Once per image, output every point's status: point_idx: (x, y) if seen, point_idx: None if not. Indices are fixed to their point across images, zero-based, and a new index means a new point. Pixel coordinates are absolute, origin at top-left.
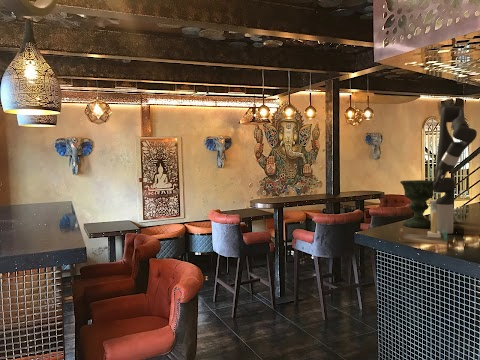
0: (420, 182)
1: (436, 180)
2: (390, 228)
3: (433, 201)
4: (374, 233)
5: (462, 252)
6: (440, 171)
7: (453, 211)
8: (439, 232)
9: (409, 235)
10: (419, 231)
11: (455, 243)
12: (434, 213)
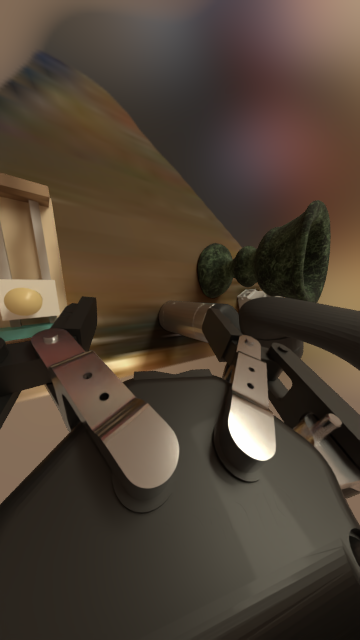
0: (301, 257)
1: (56, 348)
2: (182, 209)
3: (275, 296)
4: (102, 137)
5: None
6: (137, 498)
7: None
8: (40, 315)
9: (32, 223)
10: (167, 269)
11: None
12: (6, 303)
